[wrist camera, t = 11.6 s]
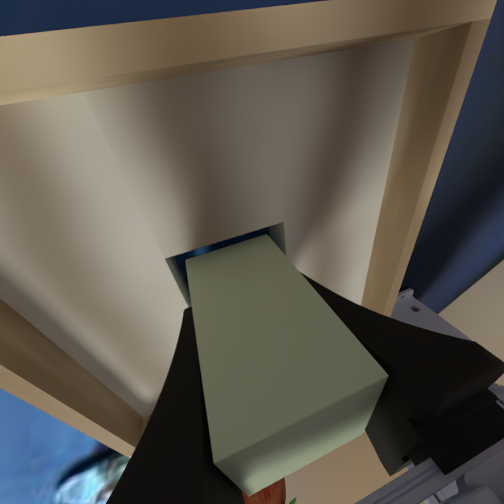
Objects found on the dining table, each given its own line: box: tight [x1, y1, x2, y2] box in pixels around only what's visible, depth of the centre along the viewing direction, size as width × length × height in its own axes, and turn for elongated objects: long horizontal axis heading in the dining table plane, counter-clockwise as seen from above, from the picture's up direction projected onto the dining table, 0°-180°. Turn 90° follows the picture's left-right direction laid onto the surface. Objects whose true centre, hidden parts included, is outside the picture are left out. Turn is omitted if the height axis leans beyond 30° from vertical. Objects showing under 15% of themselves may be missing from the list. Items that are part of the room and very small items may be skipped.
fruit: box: [242, 477, 296, 504], centre depth 28 cm, size 9×10×10 cm
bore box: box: [0, 0, 497, 458], centre depth 12 cm, size 20×20×4 cm
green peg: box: [185, 234, 389, 497], centre depth 9 cm, size 4×4×8 cm
